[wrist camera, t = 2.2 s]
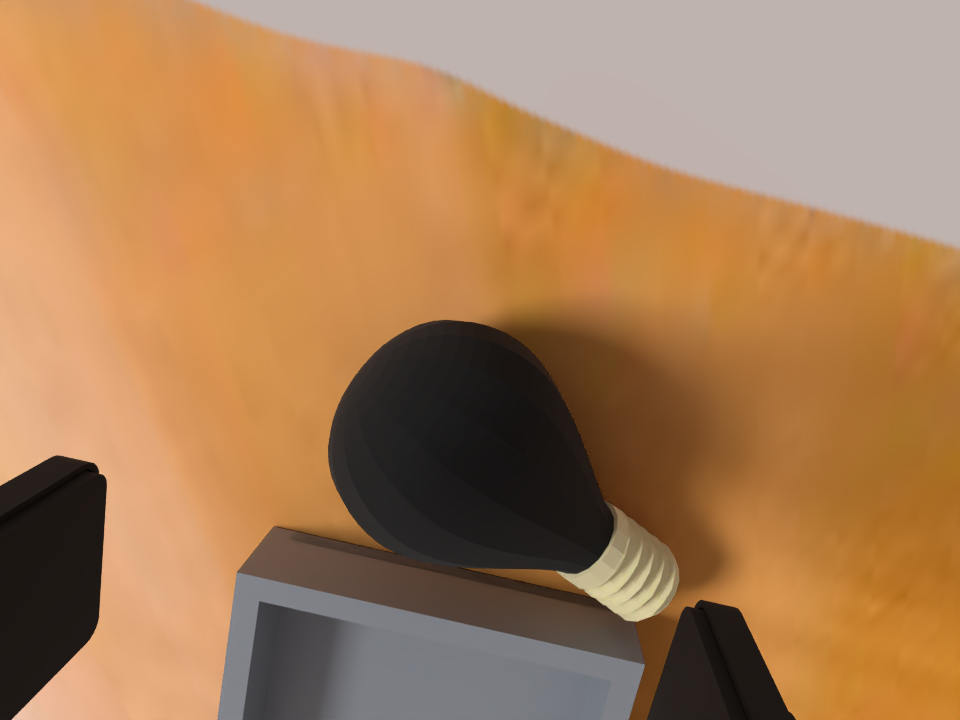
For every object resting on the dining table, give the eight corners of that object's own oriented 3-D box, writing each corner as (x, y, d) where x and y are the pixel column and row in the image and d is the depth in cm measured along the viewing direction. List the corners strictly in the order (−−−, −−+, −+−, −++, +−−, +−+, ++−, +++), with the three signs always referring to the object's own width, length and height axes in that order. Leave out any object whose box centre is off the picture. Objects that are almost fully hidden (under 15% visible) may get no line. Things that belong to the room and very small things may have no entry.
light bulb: (745, 695, 17) (374, 436, 13) (562, 702, 22) (249, 511, 18) (753, 478, 22) (474, 234, 18) (599, 522, 26) (352, 337, 22)
